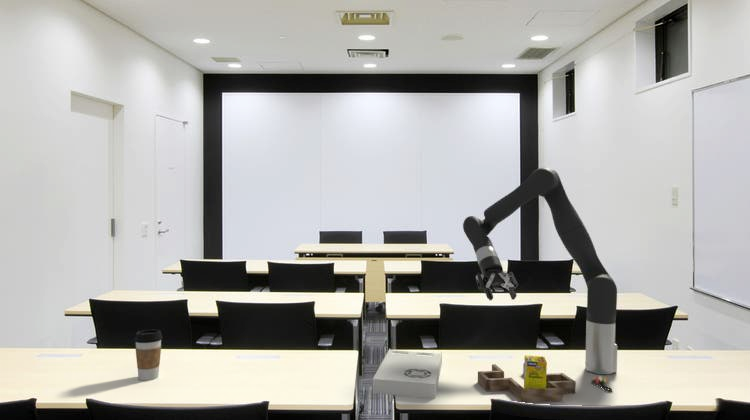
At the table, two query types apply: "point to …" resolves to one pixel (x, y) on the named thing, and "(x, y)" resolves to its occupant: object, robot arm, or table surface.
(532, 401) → the trap lane
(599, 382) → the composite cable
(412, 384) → the white flat box
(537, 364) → the supplement box
